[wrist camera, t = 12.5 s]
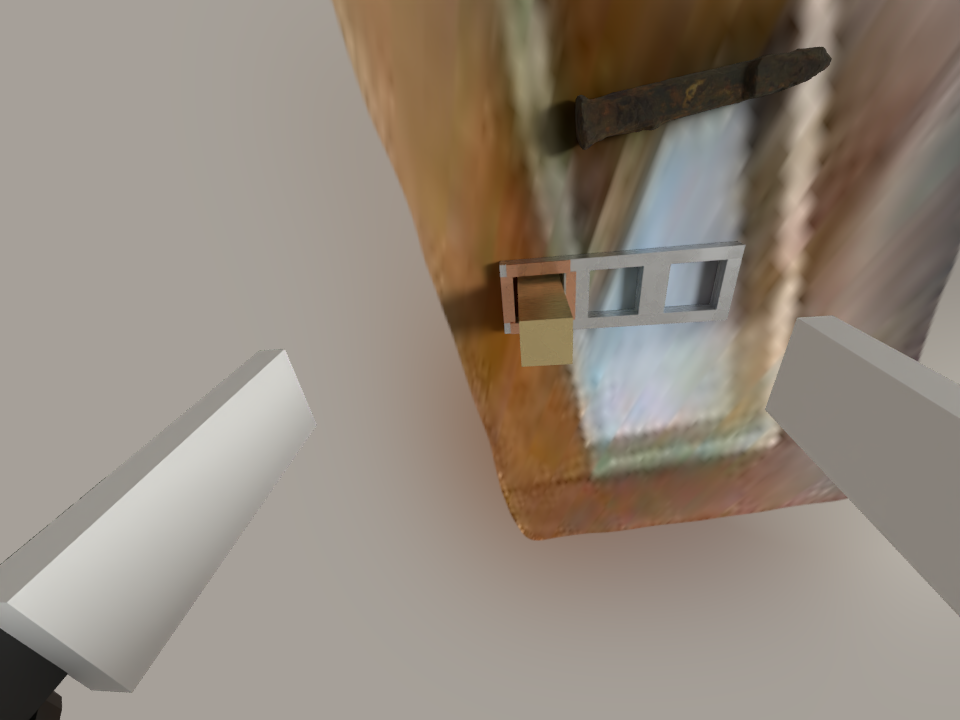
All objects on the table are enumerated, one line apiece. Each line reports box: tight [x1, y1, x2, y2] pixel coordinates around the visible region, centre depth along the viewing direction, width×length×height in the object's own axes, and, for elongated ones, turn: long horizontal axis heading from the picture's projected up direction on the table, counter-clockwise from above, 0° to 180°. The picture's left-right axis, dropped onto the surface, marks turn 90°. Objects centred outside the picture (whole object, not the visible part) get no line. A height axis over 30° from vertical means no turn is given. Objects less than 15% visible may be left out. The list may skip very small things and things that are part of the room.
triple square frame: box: [499, 241, 745, 334], centre depth 40 cm, size 8×24×2 cm, turn 96°
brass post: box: [517, 274, 573, 367], centre depth 37 cm, size 4×4×12 cm
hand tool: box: [575, 47, 832, 150], centre depth 30 cm, size 19×4×5 cm, turn 100°
